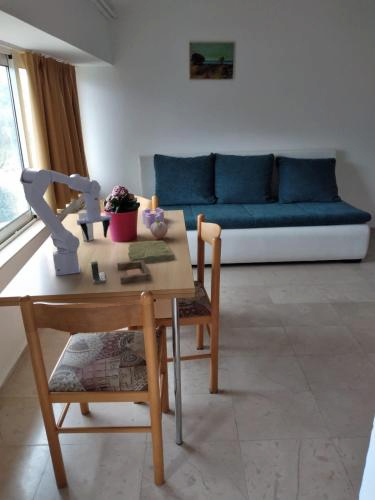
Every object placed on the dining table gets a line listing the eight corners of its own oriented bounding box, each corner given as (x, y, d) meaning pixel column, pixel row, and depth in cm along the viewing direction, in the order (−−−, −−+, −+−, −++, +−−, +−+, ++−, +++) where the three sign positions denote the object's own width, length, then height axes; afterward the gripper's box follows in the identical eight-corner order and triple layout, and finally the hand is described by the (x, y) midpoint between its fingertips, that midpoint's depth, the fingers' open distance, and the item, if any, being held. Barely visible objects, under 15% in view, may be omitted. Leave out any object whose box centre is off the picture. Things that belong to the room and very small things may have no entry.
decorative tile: (164, 245, 180) (163, 238, 179) (173, 260, 162) (173, 253, 160) (125, 250, 175) (124, 242, 174) (130, 266, 157) (130, 258, 156)
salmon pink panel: (128, 278, 145) (128, 275, 145) (126, 273, 150) (126, 270, 149) (141, 276, 147) (141, 273, 146) (139, 271, 151) (138, 268, 151)
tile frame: (121, 284, 140) (120, 278, 139) (117, 268, 154) (117, 263, 153) (150, 280, 143) (149, 274, 142) (144, 265, 156) (143, 260, 155)
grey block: (93, 284, 141) (91, 267, 138) (92, 275, 148) (90, 259, 145) (105, 282, 142) (103, 265, 139) (104, 274, 149) (102, 258, 146)
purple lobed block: (164, 228, 204) (164, 216, 202) (142, 229, 204) (141, 217, 201) (164, 218, 223) (163, 207, 221) (143, 219, 222) (142, 208, 220)
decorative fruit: (170, 240, 185) (170, 221, 182) (155, 243, 182) (154, 223, 179) (163, 235, 193) (162, 216, 190) (149, 237, 190) (147, 218, 186)
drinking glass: (96, 240, 188) (92, 212, 182) (82, 242, 185) (78, 213, 180) (94, 236, 194) (90, 208, 188) (81, 238, 191) (77, 210, 186)
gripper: (77, 212, 151) (81, 243, 155) (112, 208, 156) (115, 238, 161) (74, 208, 157) (78, 239, 161) (108, 204, 162) (111, 233, 167)
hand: (96, 238), depth 162 cm, fingers open, 7 cm apart
